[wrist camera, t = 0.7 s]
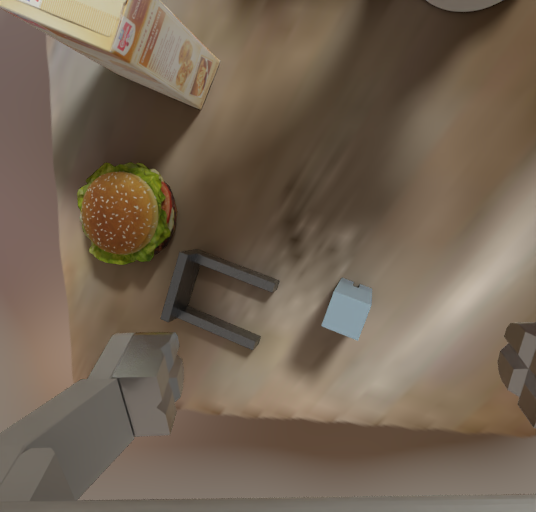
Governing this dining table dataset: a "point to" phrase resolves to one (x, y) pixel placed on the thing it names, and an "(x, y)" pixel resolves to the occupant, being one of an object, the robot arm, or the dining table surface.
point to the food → (126, 213)
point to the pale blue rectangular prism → (348, 309)
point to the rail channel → (184, 286)
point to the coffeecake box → (128, 41)
